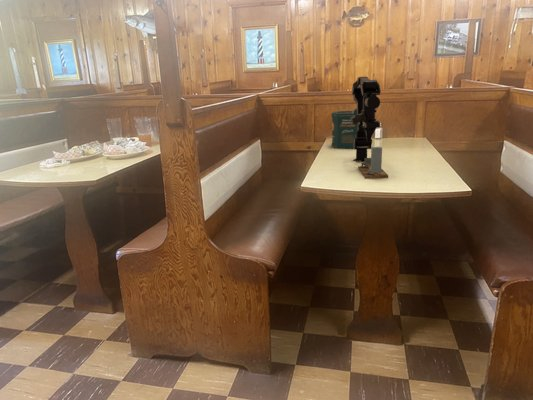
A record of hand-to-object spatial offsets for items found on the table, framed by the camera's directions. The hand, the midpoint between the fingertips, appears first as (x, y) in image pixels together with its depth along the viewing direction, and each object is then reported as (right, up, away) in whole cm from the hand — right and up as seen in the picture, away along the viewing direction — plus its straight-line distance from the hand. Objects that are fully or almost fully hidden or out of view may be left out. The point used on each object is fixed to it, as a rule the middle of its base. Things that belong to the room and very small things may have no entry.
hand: (368, 141), depth 206 cm
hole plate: (0, -16, -7) cm, 17 cm away
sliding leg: (-1, -16, -15) cm, 22 cm away
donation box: (0, +5, +61) cm, 61 cm away
